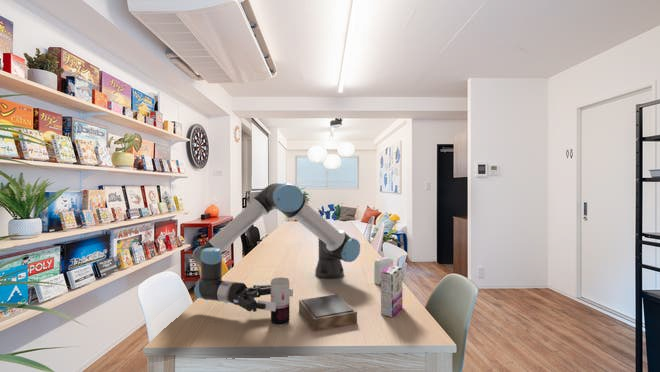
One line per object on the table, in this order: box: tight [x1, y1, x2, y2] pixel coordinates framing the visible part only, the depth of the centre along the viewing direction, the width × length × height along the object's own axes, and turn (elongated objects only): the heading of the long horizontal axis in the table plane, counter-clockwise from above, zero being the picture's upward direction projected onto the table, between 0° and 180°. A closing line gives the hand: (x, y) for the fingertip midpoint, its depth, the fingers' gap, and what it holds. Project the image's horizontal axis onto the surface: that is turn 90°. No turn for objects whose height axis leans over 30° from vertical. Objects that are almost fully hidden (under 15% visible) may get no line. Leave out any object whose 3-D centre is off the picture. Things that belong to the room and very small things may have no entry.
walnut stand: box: [298, 294, 358, 332], centre depth 116 cm, size 16×18×4 cm
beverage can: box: [270, 277, 290, 327], centre depth 111 cm, size 7×7×15 cm
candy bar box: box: [380, 264, 404, 318], centre depth 121 cm, size 11×5×16 cm, turn 148°
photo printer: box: [373, 256, 394, 285], centre depth 154 cm, size 10×4×12 cm, turn 123°
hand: (284, 299), depth 111 cm, fingers open, 13 cm apart
